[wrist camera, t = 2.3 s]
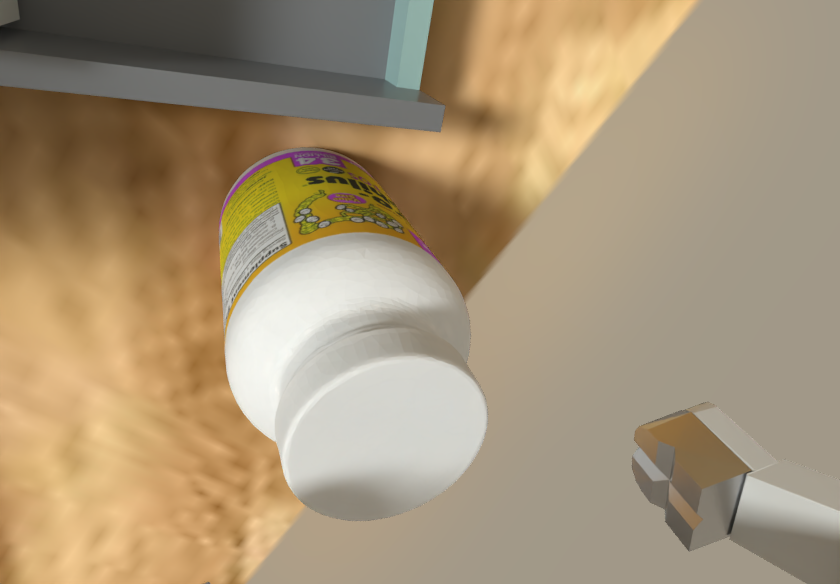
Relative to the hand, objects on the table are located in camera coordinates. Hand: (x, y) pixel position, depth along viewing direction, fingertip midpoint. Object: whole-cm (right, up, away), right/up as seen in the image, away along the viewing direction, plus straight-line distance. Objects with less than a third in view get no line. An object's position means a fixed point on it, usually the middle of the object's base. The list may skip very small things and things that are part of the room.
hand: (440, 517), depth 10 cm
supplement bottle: (-5, +7, +13) cm, 15 cm away
